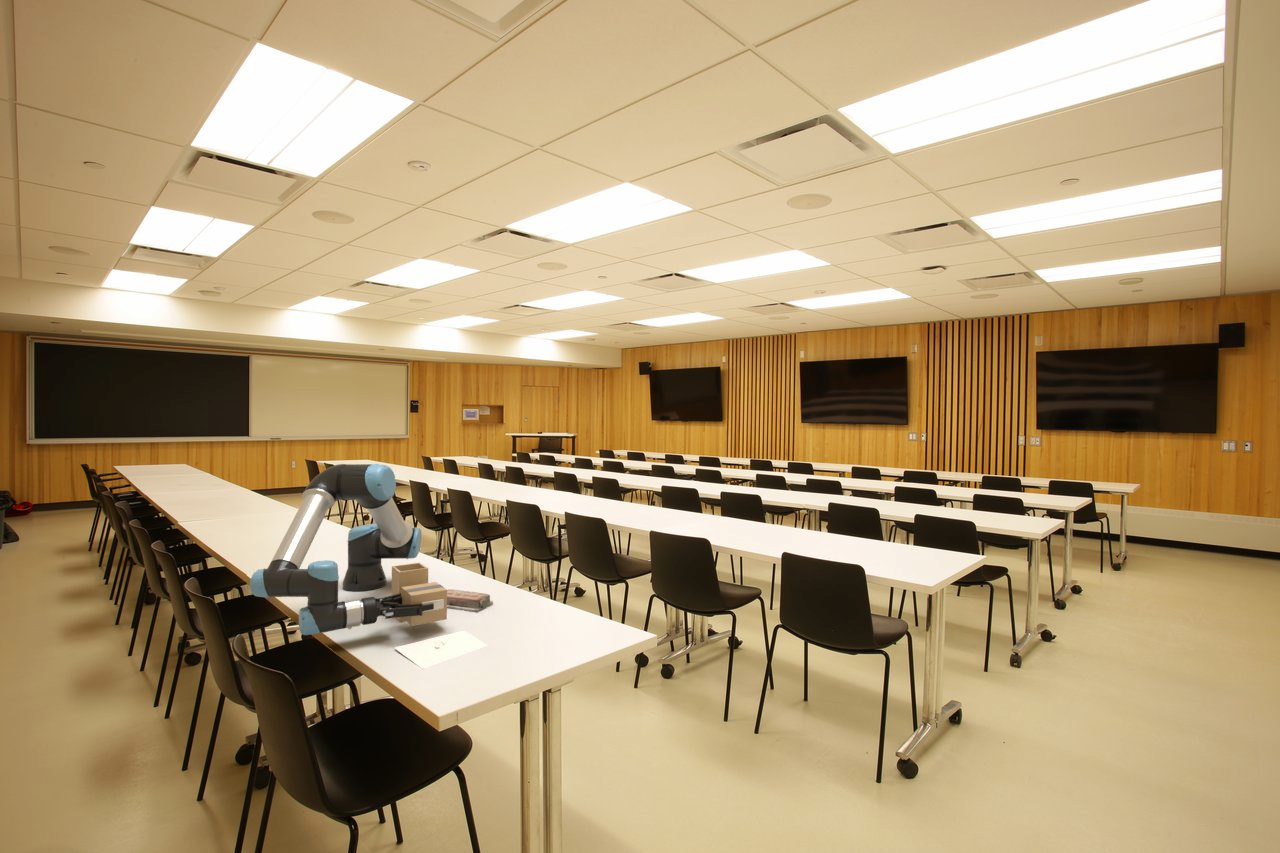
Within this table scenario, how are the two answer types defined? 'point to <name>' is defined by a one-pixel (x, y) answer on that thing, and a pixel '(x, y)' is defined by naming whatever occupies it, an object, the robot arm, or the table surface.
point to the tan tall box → (408, 578)
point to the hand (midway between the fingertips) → (437, 599)
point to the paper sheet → (440, 648)
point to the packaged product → (467, 600)
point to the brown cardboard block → (425, 594)
